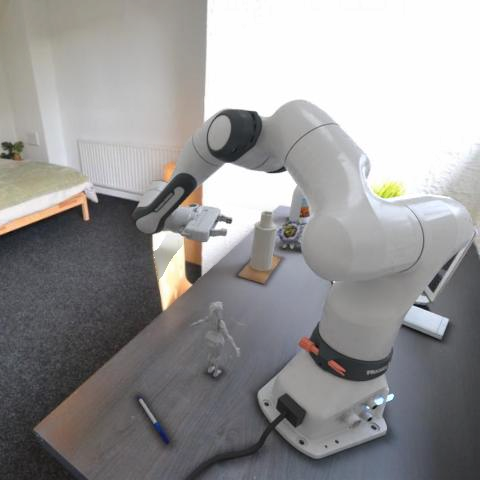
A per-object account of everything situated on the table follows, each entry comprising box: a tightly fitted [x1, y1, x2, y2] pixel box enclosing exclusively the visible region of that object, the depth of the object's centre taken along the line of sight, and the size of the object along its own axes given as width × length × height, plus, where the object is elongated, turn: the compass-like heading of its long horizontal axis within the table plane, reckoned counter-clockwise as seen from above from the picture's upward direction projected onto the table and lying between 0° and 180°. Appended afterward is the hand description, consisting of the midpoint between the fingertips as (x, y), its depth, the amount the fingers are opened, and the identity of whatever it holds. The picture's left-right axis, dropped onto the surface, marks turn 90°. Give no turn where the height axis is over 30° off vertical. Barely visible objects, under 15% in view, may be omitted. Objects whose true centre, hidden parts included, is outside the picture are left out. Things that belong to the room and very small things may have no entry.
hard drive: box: [402, 304, 450, 340], centre depth 82 cm, size 2×8×12 cm
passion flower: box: [276, 219, 305, 250], centre depth 116 cm, size 11×11×12 cm
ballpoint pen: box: [137, 395, 170, 445], centre depth 60 cm, size 10×1×1 cm, turn 33°
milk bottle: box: [288, 184, 310, 225], centre depth 133 cm, size 8×8×20 cm
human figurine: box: [189, 300, 243, 378], centre depth 64 cm, size 12×4×18 cm, turn 45°
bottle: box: [249, 210, 278, 271], centre depth 101 cm, size 6×6×18 cm
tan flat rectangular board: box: [237, 254, 283, 285], centre depth 105 cm, size 18×8×1 cm, turn 146°
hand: (229, 226), depth 103 cm, fingers open, 8 cm apart
